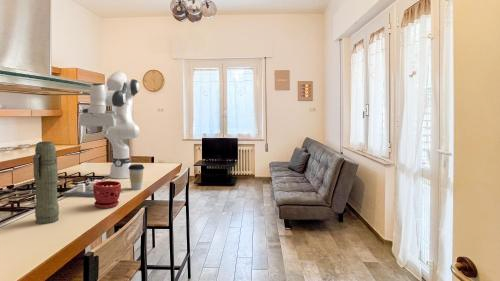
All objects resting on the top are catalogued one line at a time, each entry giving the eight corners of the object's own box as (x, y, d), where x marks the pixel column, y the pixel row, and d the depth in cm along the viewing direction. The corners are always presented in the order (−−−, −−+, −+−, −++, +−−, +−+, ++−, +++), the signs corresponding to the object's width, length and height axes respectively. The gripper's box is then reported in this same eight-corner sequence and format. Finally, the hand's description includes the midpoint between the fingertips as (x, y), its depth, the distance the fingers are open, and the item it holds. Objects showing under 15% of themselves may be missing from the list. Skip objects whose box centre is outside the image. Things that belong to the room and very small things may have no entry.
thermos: (28, 224, 142) (25, 143, 139) (46, 216, 154) (43, 140, 151) (48, 225, 142) (46, 143, 139) (64, 216, 154) (63, 141, 150)
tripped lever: (79, 191, 192) (79, 183, 191) (85, 191, 192) (85, 183, 191) (77, 192, 189) (77, 184, 189) (83, 192, 189) (83, 184, 189)
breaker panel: (77, 189, 204) (77, 186, 204) (107, 190, 204) (107, 186, 204) (63, 196, 188) (63, 192, 188) (95, 197, 188) (95, 193, 188)
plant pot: (93, 210, 164) (92, 186, 163) (93, 203, 176) (93, 181, 175) (121, 208, 169) (121, 185, 168) (120, 201, 181) (120, 179, 180)
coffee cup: (129, 191, 203) (129, 166, 202) (127, 187, 212) (127, 164, 210) (145, 189, 208) (145, 166, 206) (142, 186, 216) (142, 163, 215)
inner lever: (95, 186, 203) (95, 179, 202) (100, 187, 203) (100, 179, 202) (93, 187, 200) (93, 180, 200) (98, 188, 200) (98, 180, 200)
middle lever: (91, 189, 197) (91, 181, 197) (96, 189, 197) (96, 181, 197) (89, 190, 195) (89, 182, 194) (94, 190, 195) (94, 182, 194)
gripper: (117, 111, 201) (117, 134, 202) (83, 110, 200) (83, 133, 201) (113, 111, 195) (113, 134, 196) (78, 109, 194) (78, 133, 195)
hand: (97, 134), depth 198 cm, fingers open, 8 cm apart
